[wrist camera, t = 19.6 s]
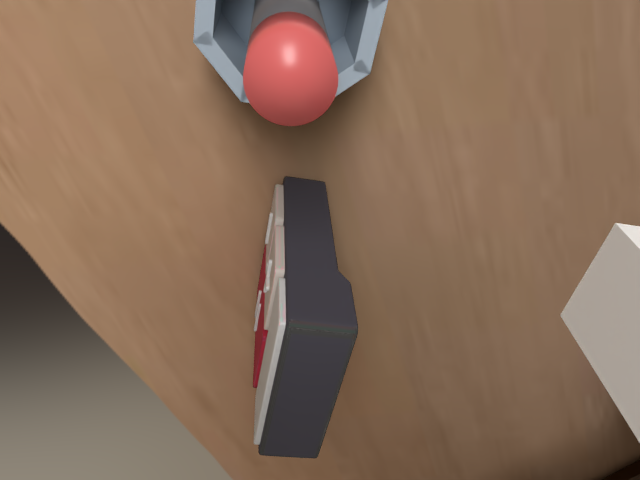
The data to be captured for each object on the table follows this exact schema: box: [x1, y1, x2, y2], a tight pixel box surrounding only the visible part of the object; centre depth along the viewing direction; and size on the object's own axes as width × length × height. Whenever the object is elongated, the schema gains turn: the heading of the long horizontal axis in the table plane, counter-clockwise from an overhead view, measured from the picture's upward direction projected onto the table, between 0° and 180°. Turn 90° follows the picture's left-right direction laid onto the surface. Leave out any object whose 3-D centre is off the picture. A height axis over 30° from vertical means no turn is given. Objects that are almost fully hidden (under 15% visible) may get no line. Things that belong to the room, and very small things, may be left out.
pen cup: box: [193, 0, 388, 103], centre depth 29 cm, size 9×9×6 cm
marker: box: [243, 0, 338, 126], centre depth 25 cm, size 3×3×14 cm
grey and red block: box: [253, 177, 358, 458], centre depth 35 cm, size 11×4×15 cm, turn 169°
